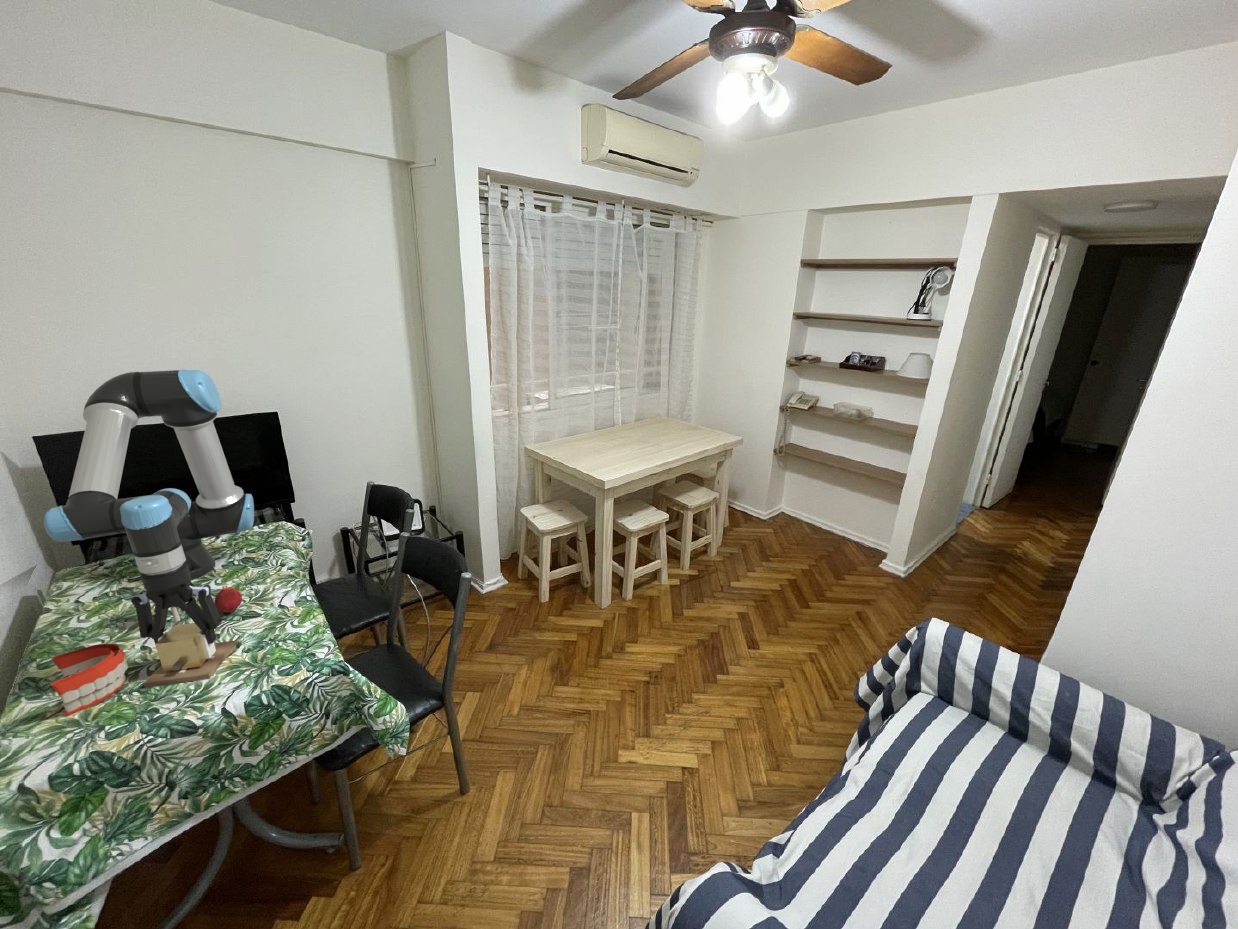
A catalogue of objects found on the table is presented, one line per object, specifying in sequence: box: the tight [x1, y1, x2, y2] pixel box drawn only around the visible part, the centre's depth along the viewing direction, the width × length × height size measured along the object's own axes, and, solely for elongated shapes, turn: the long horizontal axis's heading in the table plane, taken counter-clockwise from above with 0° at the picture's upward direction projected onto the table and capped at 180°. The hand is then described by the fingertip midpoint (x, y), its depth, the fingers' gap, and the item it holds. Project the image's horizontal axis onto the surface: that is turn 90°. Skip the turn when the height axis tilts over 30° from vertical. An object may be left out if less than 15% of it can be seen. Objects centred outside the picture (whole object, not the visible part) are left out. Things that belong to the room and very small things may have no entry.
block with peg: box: [154, 622, 218, 671], centre depth 111 cm, size 10×7×7 cm
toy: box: [50, 643, 129, 717], centre depth 104 cm, size 12×10×8 cm
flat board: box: [143, 640, 237, 689], centre depth 112 cm, size 12×12×6 cm
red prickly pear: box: [214, 584, 243, 613], centre depth 131 cm, size 6×6×8 cm
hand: (191, 657), depth 112 cm, fingers closed on block with peg, 7 cm apart
